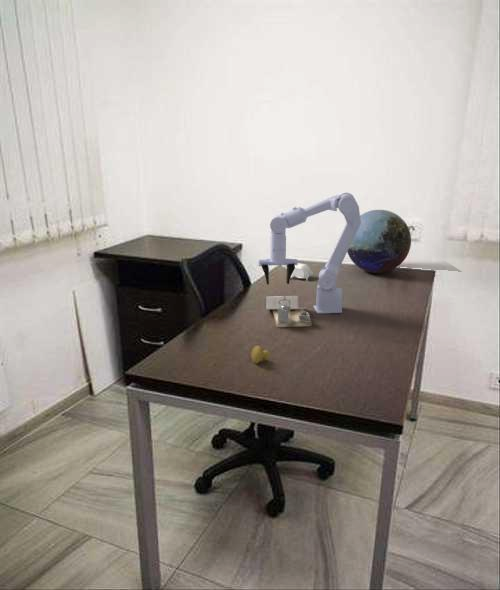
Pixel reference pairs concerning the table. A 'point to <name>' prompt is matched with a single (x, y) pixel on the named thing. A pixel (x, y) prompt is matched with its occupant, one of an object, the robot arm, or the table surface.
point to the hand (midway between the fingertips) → (277, 283)
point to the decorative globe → (380, 242)
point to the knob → (259, 354)
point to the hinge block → (284, 313)
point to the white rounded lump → (300, 271)
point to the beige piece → (294, 318)
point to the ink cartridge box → (282, 302)
